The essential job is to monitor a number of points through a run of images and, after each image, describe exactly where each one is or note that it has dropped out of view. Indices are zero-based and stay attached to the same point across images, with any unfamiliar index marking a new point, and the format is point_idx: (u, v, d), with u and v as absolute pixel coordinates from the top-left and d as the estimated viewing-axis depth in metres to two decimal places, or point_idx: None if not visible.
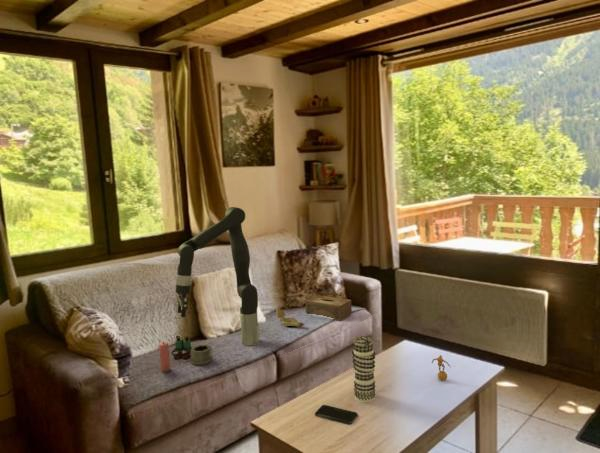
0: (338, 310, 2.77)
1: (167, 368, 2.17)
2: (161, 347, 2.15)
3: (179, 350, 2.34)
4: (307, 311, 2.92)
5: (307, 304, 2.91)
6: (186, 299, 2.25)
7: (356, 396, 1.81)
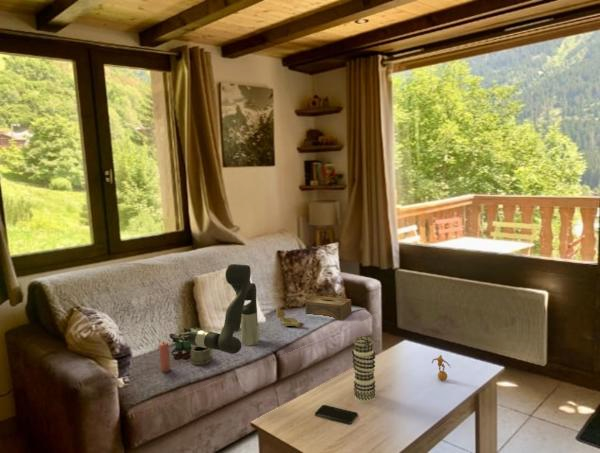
0: (340, 310, 2.78)
1: (167, 368, 2.17)
2: (161, 347, 2.15)
3: (179, 350, 2.34)
4: (307, 312, 2.90)
5: (307, 304, 2.90)
6: None
7: (356, 396, 1.81)
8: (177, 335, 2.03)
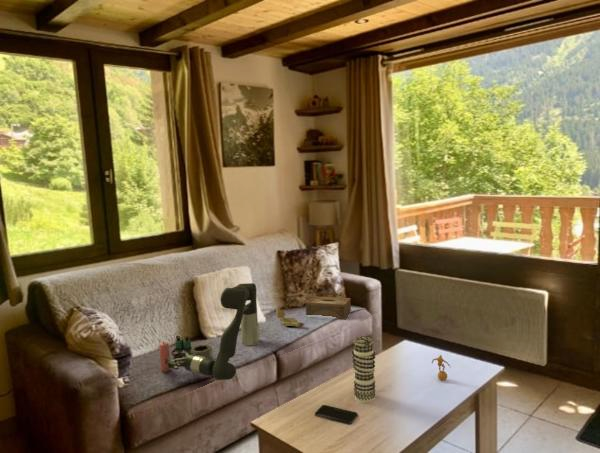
0: (343, 309, 2.79)
1: (167, 368, 2.17)
2: (161, 347, 2.15)
3: (179, 350, 2.34)
4: (308, 313, 2.88)
5: (308, 305, 2.87)
6: None
7: (356, 396, 1.81)
8: (172, 361, 2.07)
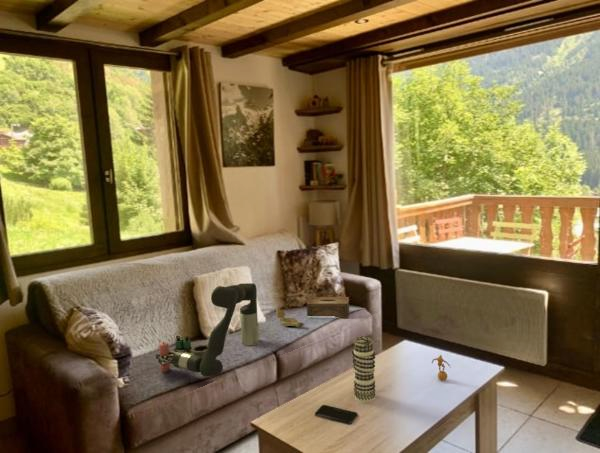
0: (346, 308, 2.81)
1: (167, 368, 2.17)
2: (161, 347, 2.15)
3: None
4: (309, 314, 2.86)
5: (309, 306, 2.85)
6: None
7: (356, 396, 1.81)
8: (162, 356, 2.13)
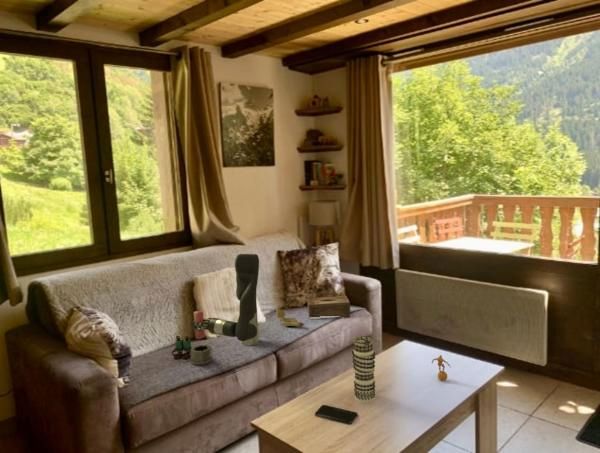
0: (348, 306, 2.84)
1: (202, 335, 2.24)
2: (196, 314, 2.23)
3: (179, 350, 2.34)
4: (311, 315, 2.83)
5: (312, 308, 2.83)
6: None
7: (356, 396, 1.81)
8: (197, 323, 2.21)
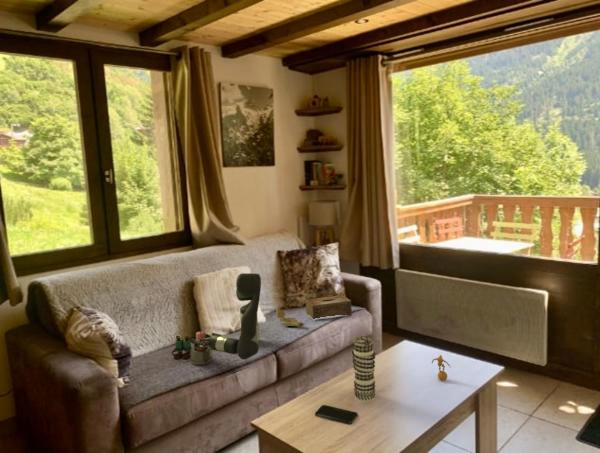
0: (350, 305, 2.87)
1: None
2: (198, 336, 2.24)
3: (179, 350, 2.34)
4: (315, 316, 2.81)
5: (315, 308, 2.80)
6: None
7: (356, 396, 1.81)
8: (198, 340, 2.21)
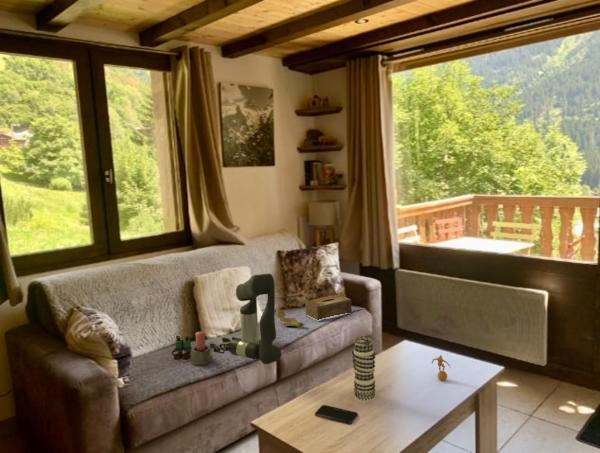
0: (350, 303, 2.90)
1: None
2: (198, 335, 2.24)
3: (179, 350, 2.34)
4: (319, 317, 2.79)
5: (319, 309, 2.79)
6: None
7: (356, 396, 1.81)
8: (218, 345, 2.13)
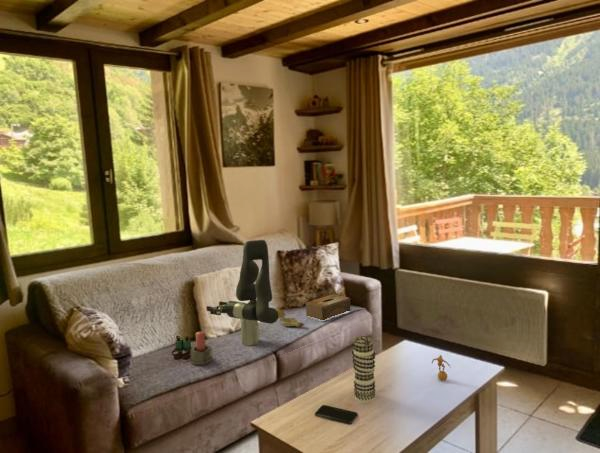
0: (349, 302, 2.93)
1: None
2: (198, 336, 2.24)
3: (179, 350, 2.34)
4: (323, 317, 2.78)
5: (324, 309, 2.78)
6: None
7: (356, 396, 1.81)
8: (214, 307, 2.10)
